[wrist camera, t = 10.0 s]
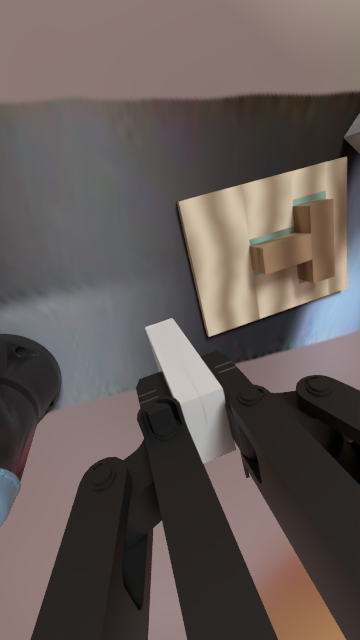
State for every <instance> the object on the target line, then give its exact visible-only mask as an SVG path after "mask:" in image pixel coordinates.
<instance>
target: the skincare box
mask: <svg viewBox="0 0 360 640" xmlns="http://www.w3.org/2000/svg"><path fill="white" fill-rule="evenodd" d="M344 139H345V140H346V141H347V142H348V143H349V144H350V145H351V146H352V147H353V148H354V149H355V150H356V151H357V152H358V153H359V154H360V113H359V115H358V116H357V118H356V119H355V121H354V122H353V124H352V125H351V127H350V129H349V130H348V132H347V133H346V135H345V137H344Z"/></svg>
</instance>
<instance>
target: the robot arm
mask: <svg viewBox="0 0 360 640" xmlns="http://www.w3.org/2000/svg"><path fill="white" fill-rule="evenodd" d="M145 329H146V332H147V335H148V338H149V342H150V345H151V348H152V351H153V354H154V357H155V360H156V363H157V366H158V369H159V372H158V373H156V374H153V375H150V376H147V377H145V378H142V379H139V382H138V384H137V387H136V390H137V394H138V399H139V403H140V407H141V409H140V410H139V412H138V415H137V416H138V417H137V421H138V423H139V426H140V428H141V431H142V433H143V436H144V440H143V442H142V444H141V445H140V447H139V448H138V449H137V450H136V451H135V452H134V453H132V454H131V455H130V456H128V457H127V458H126V459H124V460H121V459H119V458H117V457H108V458H105V459H102V460H100V461H98V462H97V463H95V464H94V465H92V466H91V467H90V468H89V469H88V470H87V472H86V473H85V474H84V476H83V478H82V480H81V482H80V484H79V487H78V490H77V494H76V497H75V500H74V503H73V506H72V510H71V513H70V517H69V519H68V523H67V526H66V529H65V532H64V535H63V538H62V542H61V545H60V548H59V551H58V555H57V558H56V561H55V564H54V567H53V570H52V574H51V577H50V580H49V583H48V587H47V590H46V593H45V596H44V599H43V602H42V605H41V609H40V612H39V615H38V618H37V622H36V625H35V628H34V631H33V634H32V637H31V640H148V625H149V605H150V603H149V602H150V584H151V564H152V563H151V561H152V542H153V528H154V527H155V526H156V525H157V524H158V523H159V522H160V521H163V527H164V531H165V536H166V541H167V545H168V550H169V555H170V560H171V564H172V569H173V574H174V578H175V583H176V588H177V593H178V597H179V602H180V607H181V611H182V616H183V621H184V626H185V630H186V635H187V640H278V639H277V636H276V634H275V631H274V629H273V627H272V624H271V622H270V620H269V617H268V615H267V613H266V610H265V608H264V605H263V603H262V601H261V598H260V596H259V594H258V591H257V589H256V587H255V585H254V582H253V580H252V577H251V575H250V573H249V570H248V568H247V566H246V563H245V561H244V558H243V556H242V554H241V551H240V549H239V547H238V544H237V542H236V540H235V537H234V535H233V533H232V530H231V528H230V526H229V523H228V521H227V519H226V516H225V514H224V512H223V509H222V507H221V504H220V502H219V500H218V497H217V495H216V493H215V490H214V488H213V486H212V483H211V481H210V479H209V476H208V474H207V472H206V469H205V467H204V463H206V462H209V461H211V460H213V459H216V458H218V457H220V456H223V455H225V454H227V453H229V452H232V451H234V450H236V447H235V443H234V441H235V442H236V444H237V445H238V447H239V449H240V452H241V457H242V462H243V467H244V471H245V474H246V478H248V477H249V473H250V475H251V476H252V478H253V480H254V482H255V483H256V485H257V487H258V489H259V490H260V492H261V494H262V495H263V497H264V499H265V500H266V502H267V504H268V506H269V507H270V509H271V511H272V513H273V514H274V516H275V518H276V520H277V521H278V523H279V525H280V526H281V528H282V530H283V532H284V533H285V535H286V537H287V538H288V540H289V542H290V543H291V545H292V547H293V549H294V550H295V552H296V554H297V556H298V557H299V559H300V561H301V562H302V564H303V566H304V568H305V569H306V571H307V573H308V574H309V576H310V578H311V580H312V581H313V583H314V585H315V586H316V588H317V590H318V592H319V593H320V595H321V596H322V599H323V600H324V602H325V604H326V605H327V607H328V609H329V611H330V612H331V614H332V615H333V617H334V619H335V621H336V623H337V624H338V626H339V628H340V629H341V631H342V633H343V634H344V636H345V638H346V640H360V391H359V390H357V389H355V388H353V387H351V386H349V385H346V384H344V383H342V382H340V381H337V380H335V379H333V378H330V377H327V376H322V375H313V376H307V377H305V378H302V379H301V380H300V381H299V382H298V383H297V385H296V391H291V392H284V393H270V392H269V391H268V390H266V389H265V388H264V387H261V386H258V385H253V384H252V383H251V382H250V381H249V380H248V379H247V377H246V376H245V375H244V374H243V373H242V372H241V371H240V370H239V369H238V368H237V367H236V365H235V364H234V363H233V362H231V360H230V359H229V358H228V357H227V356H226V354H223V353H221V352H218V351H214V352H211V353H209V354H206V355H203V356H199V355H198V353H197V352H196V350H195V349H194V348H193V346H192V345H191V343H190V342H189V341H188V339H187V338H186V336H185V335H184V334H183V332H182V331H181V330H180V328H179V327H178V325H177V324H176V323H175V321H174V320H173V318H171V319H168V320H165V321H162V322H159V323H156V324H153V325H150V326H147V327H145ZM60 386H61V372H60V368H59V365H58V363H57V361H56V360H55V358H54V357H53V355H52V354H51V353H50V352H49V351H48V350H47V349H46V348H44V347H43V346H42V345H40V344H39V343H37V342H35V341H33V340H31V339H28V338H25V337H22V336H18V335H11V334H0V527H1V526H2V525H3V523H4V521H5V520H6V519H7V517H8V515H9V513H10V510H11V508H12V505H13V503H14V500H15V498H16V496H17V495H18V493H19V490H20V486H21V485H20V481H21V477H22V474H23V471H24V467H25V464H26V460H27V456H28V453H29V450H30V447H31V443H32V440H33V436H34V433H35V429H36V426H37V424H38V423H39V422H40V421H41V420H42V419H43V417H44V416H45V415H46V414H47V413H48V412H49V411H50V410H51V408H52V407H53V405H54V404H55V402H56V400H57V397H58V394H59V390H60Z"/></svg>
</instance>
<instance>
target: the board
mask: <svg viewBox="0 0 360 640" xmlns="http://www.w3.org/2000/svg"><path fill="white" fill-rule="evenodd" d="M322 199H334V256H335V276H334V277H331V278H328V279H326V280H323V281H320V282H317V283H310V282H307V281H304V280H301V279H298V274H297V265H294V266H291V267H288V268H285V269H282V270H279V271H276V272H273V273H270V274H267V275H265V274H262V273H259V272H256V271H254V270H253V269H252V262H251V255H250V248H249V246H251V245H254V244H257V243H261V242H264V241H267V240H270V239H274V238H277V237H280V236H283V235H287V234H290V233H293V232H294V218H293V206H296V205H299V204H303V203H306V202H310V201H313V200H322ZM177 207H178V211H179V215H180V220H181V224H182V229H183V233H184V237H185V242H186V246H187V251H188V255H189V259H190V264H191V268H192V273H193V277H194V281H195V286H196V290H197V294H198V299H199V303H200V308H201V312H202V316H203V321H204V325H205V330H206V334H207V335H208V336H209V337H210V336H213V335H216V334H219V333H221V332H224V331H227V330H230V329H233V328H236V327H238V326H241V325H244V324H247V323H250V322H253V321H255V320H258V319H261V318H264V317H267V316H270V315H272V314H275V313H278V312H281V311H284V310H287V309H289V308H292V307H295V306H298V305H301V304H304V303H306V302H309V301H312V300H315V299H318V298H321V297H323V296H326V295H329V294H332V293H335V292H338V291H340V290H343V289H346V288H347V157H343V158H339V159H335V160H332V161H328V162H324V163H321V164H317V165H313V166H309V167H306V168H302V169H298V170H295V171H291V172H287V173H283V174H280V175H276V176H272V177H269V178H265V179H261V180H257V181H254V182H250V183H246V184H242V185H239V186H235V187H231V188H228V189H224V190H220V191H216V192H213V193H209V194H205V195H202V196H198V197H194V198H190V199H187V200H183V201H179V202H177Z"/></svg>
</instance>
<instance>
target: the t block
mask: <svg viewBox="0 0 360 640" xmlns="http://www.w3.org/2000/svg"><path fill="white" fill-rule="evenodd" d="M293 218H294V232H293V233H290V234H287V235H283V236H280V237H277V238H274V239H270V240H267V241H264V242H261V243H257V244H254V245H251V246H249V248H250V255H251V262H252V269H253V270H254V271H256V272H259V273H262V274H265V275H267V274H270V273H273V272H276V271H279V270H282V269H285V268H288V267H291V266H294V265H297V274H298V279H301V280H304V281H307V282H310V283H317V282H320V281H323V280H326V279H328V278H331V277H334V276H335V256H334V199H322V200H313V201H310V202H306V203H303V204H299V205H296V206H293Z"/></svg>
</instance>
